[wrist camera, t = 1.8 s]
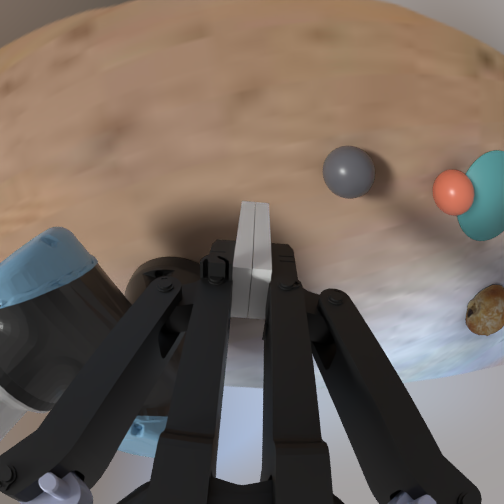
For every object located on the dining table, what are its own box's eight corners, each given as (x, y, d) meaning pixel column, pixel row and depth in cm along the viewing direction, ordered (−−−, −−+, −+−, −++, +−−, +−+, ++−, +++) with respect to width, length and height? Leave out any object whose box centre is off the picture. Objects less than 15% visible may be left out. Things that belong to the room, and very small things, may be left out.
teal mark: (479, 255, 38) (480, 256, 38) (440, 200, 34) (441, 201, 33) (531, 195, 32) (532, 196, 31) (499, 129, 27) (500, 130, 27)
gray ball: (343, 196, 34) (356, 217, 29) (308, 167, 32) (316, 184, 28) (375, 162, 32) (393, 178, 27) (340, 130, 30) (354, 141, 25)
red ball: (439, 211, 34) (460, 232, 30) (417, 185, 33) (438, 203, 28) (465, 183, 32) (488, 200, 27) (445, 154, 30) (469, 169, 26)
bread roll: (471, 272, 44) (475, 302, 38) (516, 279, 39) (525, 308, 34) (458, 312, 49) (459, 343, 43) (500, 318, 44) (504, 348, 39)
